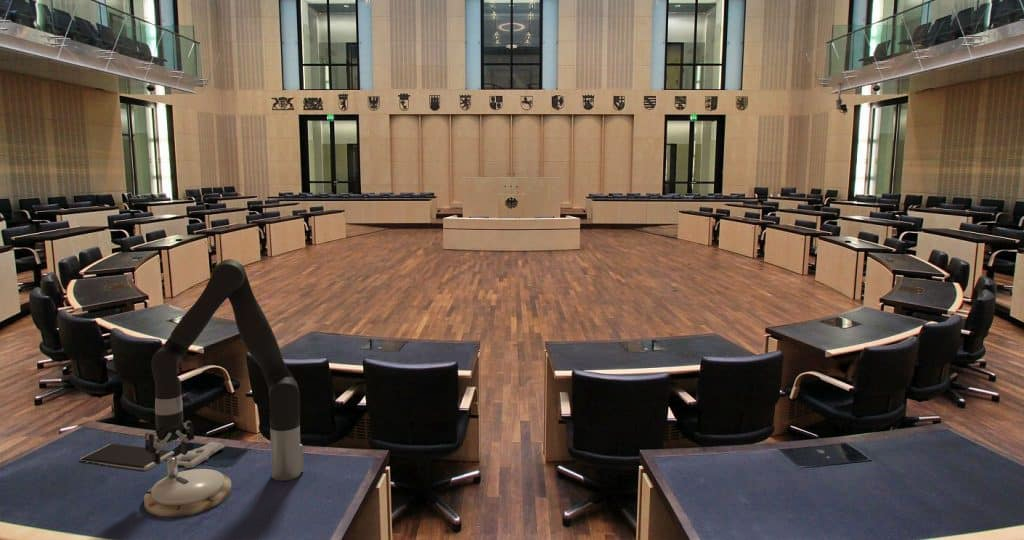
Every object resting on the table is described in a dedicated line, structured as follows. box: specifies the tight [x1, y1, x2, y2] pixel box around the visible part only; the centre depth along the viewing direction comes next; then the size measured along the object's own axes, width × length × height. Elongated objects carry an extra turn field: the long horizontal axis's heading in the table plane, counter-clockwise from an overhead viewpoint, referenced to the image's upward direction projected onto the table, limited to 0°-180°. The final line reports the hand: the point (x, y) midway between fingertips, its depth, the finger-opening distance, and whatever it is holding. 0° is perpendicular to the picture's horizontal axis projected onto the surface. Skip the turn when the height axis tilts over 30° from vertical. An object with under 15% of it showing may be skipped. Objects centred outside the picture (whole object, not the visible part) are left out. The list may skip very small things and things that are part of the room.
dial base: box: [143, 473, 232, 518], centre depth 194 cm, size 24×24×2 cm
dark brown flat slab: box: [79, 443, 175, 471], centre depth 218 cm, size 13×27×2 cm, turn 78°
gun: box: [175, 440, 226, 469], centre depth 219 cm, size 18×4×10 cm
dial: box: [151, 456, 224, 506], centre depth 193 cm, size 20×20×8 cm
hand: (171, 458), depth 197 cm, fingers open, 8 cm apart
